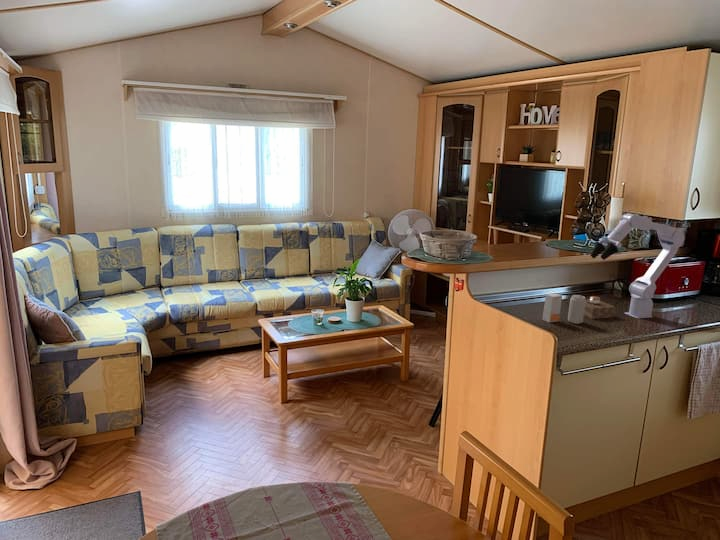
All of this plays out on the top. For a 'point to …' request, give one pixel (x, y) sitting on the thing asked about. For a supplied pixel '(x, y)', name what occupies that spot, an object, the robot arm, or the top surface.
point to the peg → (594, 300)
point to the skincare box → (552, 308)
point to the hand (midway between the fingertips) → (597, 257)
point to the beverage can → (576, 309)
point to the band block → (599, 310)
